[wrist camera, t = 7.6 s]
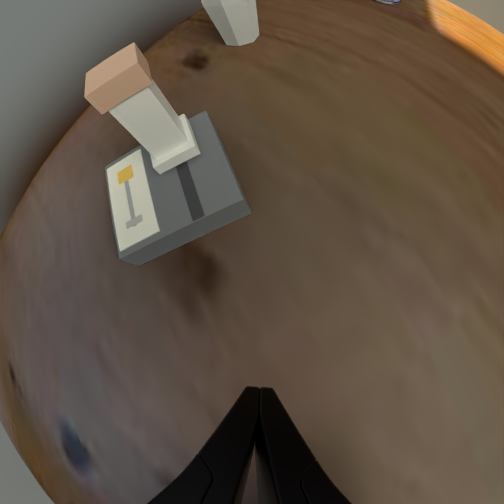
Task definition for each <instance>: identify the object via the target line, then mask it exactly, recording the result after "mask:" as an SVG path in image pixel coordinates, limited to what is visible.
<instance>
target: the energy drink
mask: <svg viewBox="0 0 504 504" xmlns="http://www.w3.org/2000/svg"><path fill="white" fill-rule="evenodd" d="M375 1H377V2H380V3H383V4H388V5H395V4H398V3H400V1H401V0H375Z"/></svg>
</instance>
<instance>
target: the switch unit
mask: <svg viewBox="0 0 504 504" xmlns="http://www.w3.org/2000/svg"><path fill="white" fill-rule="evenodd" d="M188 121H189V122H190V125H191V128H192V131H193V134H194V136H195V139H196V142H197V145H198V147H199V150H200V153H201V154H199V155H197V156H195V157H193V158H191V159H189V160H187V161H185V162H183V163H181V164H179V165H177V166H175V167H173V168H171V169H169V170H167V171H166V172H164V173H162V174H159V173H158V172H157V171H156V170H155V169H154V168H153V165H152V161H151V156H150V153H149V152H148V151H147V150H146V149H145V148H144V147H143V146H142V145H139V146H138V147H136V148H134V149H133V150H131V151H129V152H128V153H126V154H124V155H123V156H121V157H120V158H118V159H116V160H115V161H113V162H112V163H110V164H109V165H107V166H106V167H105V173H106V182H107V190H108V197H109V204H110V211H111V217H112V223H113V229H114V234H115V240H116V245H117V250H118V255H119V259H120V260H122V261H125V262H128V263H131V264H134V265H137V266H140V265H142V264H144V263H146V262H149V261H151V260H153V259H155V258H157V257H159V256H161V255H163V254H165V253H167V252H169V251H171V250H174V249H176V248H178V247H180V246H182V245H184V244H186V243H188V242H191V241H193V240H195V239H197V238H199V237H201V236H204V235H206V234H208V233H210V232H212V231H214V230H217V229H219V228H221V227H223V226H225V225H228V224H230V223H232V222H234V221H236V220H239V219H241V218H243V217H245V216H248V215H250V214H252V212H251V210H250V207H249V205H248V203H247V200H246V198H245V196H244V193H243V191H242V188H241V186H240V184H239V181H238V179H237V177H236V174H235V172H234V170H233V167H232V165H231V163H230V160H229V158H228V156H227V153H226V151H225V149H224V146H223V144H222V142H221V139H220V137H219V135H218V132H217V130H216V128H215V126H214V124H213V122H212V121H211V119H210V117H209V115H208V113H207V112H206V111H204V112H202V113H199V114H197V115H195V116H193V117H191V118H189V119H188Z"/></svg>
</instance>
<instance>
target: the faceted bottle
mask: <svg viewBox="0 0 504 504" xmlns="http://www.w3.org/2000/svg"><path fill="white" fill-rule="evenodd" d="M201 2H202V4H203V7H204V8H205V10H206V12H207V13H208V15H209V16H210V18H211V20H212V21H213V23H214V25H215V26H216V28H217V30H218V31H219V33H220V35H221V36H222V38H223V40H224V42H225V43H226V45H230V46H241V45H245V44H248V43H252V42H254V41H255V39H256V38H257V37H258V36H259V27H258V18H257V9H256V0H201Z"/></svg>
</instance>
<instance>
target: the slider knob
mask: <svg viewBox="0 0 504 504" xmlns="http://www.w3.org/2000/svg"><path fill="white" fill-rule="evenodd" d="M85 98H86V99H87V100H88V101H89V102H90V103H91V104H92V105H93V106H94V107H95V108H96V109H97V110H98V111H99V112H100V113H101V114H102V115H103V114H104V113H105V112H107V111H109V112H110V113H111V114H112V115H113V116H114V117H115V118H116V119H117V120H118V121H119V122H120V123H121V124H122V125H123V126H124V127H125V128H126V129H127V130H128V131H129V132H130V133H131V134H132V135H133V136H134V137H135V138H136V140H137V141H138V142H139V143H140V144H141V145H142V146H143V147H144V148H145V149H146V150H147V151H148V152H149V153H150V156H151V161H152V165H153V168H154V169H155V170H156V171H157V172H158V173H159V174H162V173H164V172H166V171H167V170H169V169H171V168H173V167H175V166H177V165H179V164H181V163H183V162H185V161H187V160H189V159H191V158H193V157H195V156H197V155H199V154H201V153H200V150H199V147H198V145H197V142H196V139H195V136H194V134H193V131H192V128H191V125H190V122H189V121H188V119H187V117H186V116H185V114H182V115H180V116H178V115H177V114H176V112H175V111H174V109H173V108H172V107H171V105H170V104H169V102H168V101H167V99H166V98H165V97H164V95H163V94H162V92H161V91H160V89H159V88H158V87H157V85H156V84H155V82H154V81H153V80H152V78H151V74H150V70H149V66H148V62H147V60H146V59H145V57H144V56H143V54H142V53H141V51H140V50H139V49H138V47H137V45H136V44H135V43H132V44H130V45H129V46H127V47H125V48H124V49H122V50H121V51H119V52H117V53H116V54H114V55H112V56H111V57H109V58H108V59H106V60H105V61H103V62H102V63H100V64H99V65H97V66H96V67H94V68H93V69H91V70H90V71H89V72H87V73H86V82H85Z"/></svg>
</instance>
